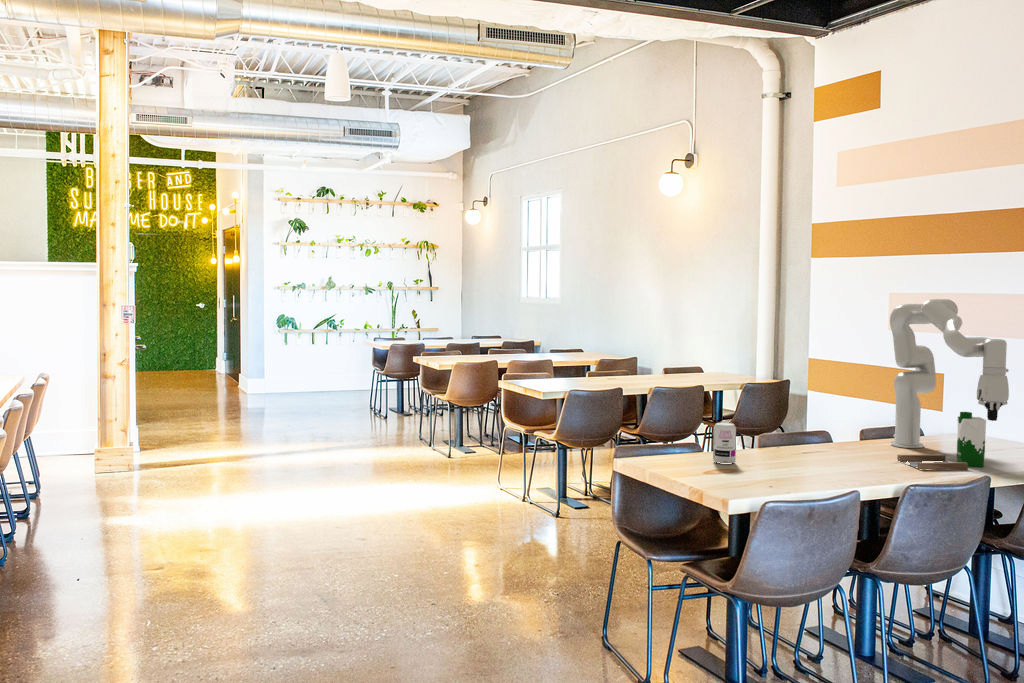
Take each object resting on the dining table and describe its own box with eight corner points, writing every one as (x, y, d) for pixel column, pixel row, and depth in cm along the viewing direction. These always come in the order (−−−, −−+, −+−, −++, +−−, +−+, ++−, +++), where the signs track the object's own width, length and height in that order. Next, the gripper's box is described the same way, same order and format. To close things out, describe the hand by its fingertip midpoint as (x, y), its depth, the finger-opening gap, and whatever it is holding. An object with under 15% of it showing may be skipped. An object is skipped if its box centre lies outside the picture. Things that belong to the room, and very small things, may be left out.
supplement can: (727, 460, 331) (728, 421, 330) (739, 464, 323) (740, 425, 322) (709, 461, 328) (709, 422, 327) (720, 465, 320) (721, 426, 319)
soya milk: (953, 462, 328) (955, 410, 326) (979, 463, 326) (981, 411, 324) (960, 466, 319) (962, 413, 318) (987, 468, 317) (989, 414, 316)
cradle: (897, 461, 329) (897, 454, 329) (942, 460, 330) (942, 454, 330) (920, 470, 313) (920, 463, 313) (967, 469, 314) (967, 463, 314)
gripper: (1007, 370, 325) (1005, 418, 326) (968, 370, 324) (967, 418, 325) (1019, 372, 317) (1017, 421, 318) (980, 372, 316) (978, 421, 318)
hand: (992, 420), depth 322 cm, fingers closed
